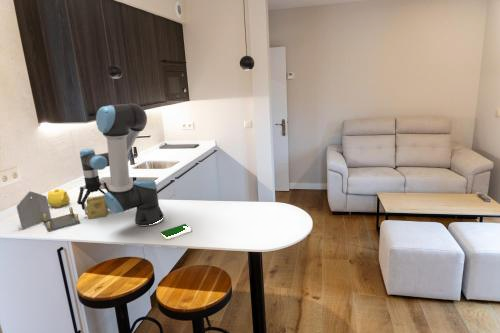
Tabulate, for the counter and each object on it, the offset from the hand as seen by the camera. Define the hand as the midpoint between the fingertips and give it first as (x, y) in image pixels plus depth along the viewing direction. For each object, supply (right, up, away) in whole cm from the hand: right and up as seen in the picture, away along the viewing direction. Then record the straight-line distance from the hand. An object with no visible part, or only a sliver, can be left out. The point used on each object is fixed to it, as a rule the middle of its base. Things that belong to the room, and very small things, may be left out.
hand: (97, 211), depth 200 cm
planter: (-33, -6, -7) cm, 35 cm away
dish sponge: (+53, -8, -29) cm, 61 cm away
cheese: (0, -2, +1) cm, 2 cm away
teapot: (-32, +1, +19) cm, 38 cm away
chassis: (-16, -5, -9) cm, 19 cm away
